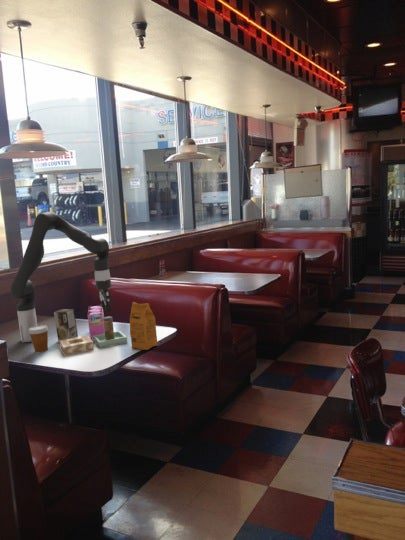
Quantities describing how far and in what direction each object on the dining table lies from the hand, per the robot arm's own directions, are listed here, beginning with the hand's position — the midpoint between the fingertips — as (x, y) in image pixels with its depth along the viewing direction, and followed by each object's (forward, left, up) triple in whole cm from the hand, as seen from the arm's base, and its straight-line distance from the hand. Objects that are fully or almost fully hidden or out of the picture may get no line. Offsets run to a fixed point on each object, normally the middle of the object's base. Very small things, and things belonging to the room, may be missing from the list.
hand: (106, 310), depth 252 cm
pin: (0, 0, -16) cm, 16 cm away
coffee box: (-18, +21, -17) cm, 32 cm away
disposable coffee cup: (-33, +10, -17) cm, 38 cm away
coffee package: (+12, -20, -17) cm, 29 cm away
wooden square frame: (-17, 0, -17) cm, 24 cm away
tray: (0, 0, -17) cm, 17 cm away
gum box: (-1, +22, -17) cm, 28 cm away
